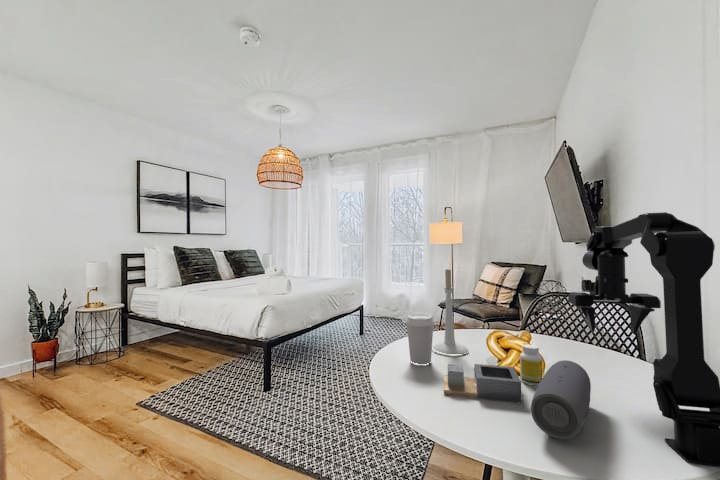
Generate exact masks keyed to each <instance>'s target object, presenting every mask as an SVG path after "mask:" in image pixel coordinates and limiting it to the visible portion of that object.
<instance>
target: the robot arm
mask: <svg viewBox="0 0 720 480" xmlns="http://www.w3.org/2000/svg"><path fill="white" fill-rule="evenodd" d="M639 238H640V241H639V243H640V245H642V247H643V248H644V249H645V251H646V252H647V253H648V254H649V259H650V263H651V266H652V267H653V269H655V271H656V272H657V273H658V274H659V275H660V276H661V277H662V284H663V285H662V286H663V307H664V325H665V328H664V329H665V348H666V349H665V350H666V351H665V352H666V353H665V355H663V357H662V358H655V359H654V360H653V362H652V364H653V366H652V367H653V371H654V372H653V378H652V379H653V382H652V383H653V385H652V386H653V390H654V394H655V397H656V402H657V406H658V410H659V411H660V412H661V415H662V416H663V417H665V418H667V419H670V420H672V421H673V435H674V438H669V437H668V438H667V437H665V438H664V442H665V443H666V444H667V445H668V446H669V447H670V448H672V449H673V450H674V451H675V453H677V454H678V455H679V456H680V457H681V458H682V459H683V460H685V461H686V462H689V463H692V464H699V465H706V466H713V467H719V466H720V380H719V376H718V375H717V374H716V372H714V370H713V369H712V368H711V366H710V365H709V364H708V363H707V361H705V360H706V359H705V346H704V342H705V341H704V328H703V327H704V325H703V305H702V304H703V303H702V286H701V285H702V284H701V280H702V279H703V277H704V276H705V275H706V274H707V273H708V271H709V270H710V269H711V267H712V266H713V263H714V255H715V254H714V253H715V246H716V245H715V242H714V240H713V238H712V237H710V236H708V234H706V233H705V232H704V231H703V230H702V229H701V228H699V226H696V225H693V224H691V223H688V222H686V221H683V220H681V219H678V218H677V217H676V216H674V214H672V213H669V212H667V211H666V212H665V211H663V212H644V213H642V214H639V215H638V216H636V217H634V218H632V219H629V220H627V221H623V222H621V223H618V224H615V225H606V226H604V225H602V226H595V228H594V229H593V231H592V232H591V234H590V236H589V239H588V241H587V243H586V253H584V254H583V256H582V264H583V266H584V267H586V268H587V269H589V270H594V271H597V275H595V281H592V279H582V280H581V291H582V292H578V291H575V292H569V294H568V295H567V297H568V298H567V300H568V301H567V302H568V303H570V304H572V305H573V306H575V307H577V308H579V309H580V310H581V313H583V315H584V318H585V320H586V323H587V326H588V327H589V330H590V332H592V333H595V330H596V329H595V328H596V308H595V307H593V304H620V305H621V304H626V305H627V304H628V307H629V311H630V324H629V325H630V333H631V334H633V335H635V334H636V333H637V332H638V330H639V328H640V326H641V325H642V323H643V322H644V320H645V319H646V318H647V317H648V315H650V313H651V312H655V309H661V308H662V303H661V299H660V298H659V297H658V296H656V295H653V294H649V293H639V292H638V293H635V292H634V293H633V292H632V293H630V295H629V294H628V293H627V290H626V289H627V288H626V287H627V286H626V283H627V284H628V283H629V278H626V258H628V257H629V254H628V252H627V251H625V250H624V249H625V248H626V247H628V246H630V245H632V244H633V240H636V239H639ZM587 292H588V293H587ZM680 407H692V408H700V410H699V409H698V410H697V409H692V408H691V409H690V408H689V409H688V408H680ZM701 409H708V410H701Z"/></svg>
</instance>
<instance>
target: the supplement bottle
mask: <svg viewBox="0 0 720 480" xmlns="http://www.w3.org/2000/svg"><path fill="white" fill-rule="evenodd" d="M539 349H540V348H539V346H537V345H535V344H527V343H525V344H523V345H522V352H521V353H520V354H519V370H520V371H519V374H520V375H519V376H520V378H519V379H520V381H521V383H524V384H526V385H528V386H538V385H539V383H540V381H541V380H542V378H543V358H542V356H541V355H540V354H539V353H540V352H539V351H540V350H539Z"/></svg>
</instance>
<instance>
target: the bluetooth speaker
mask: <svg viewBox="0 0 720 480" xmlns="http://www.w3.org/2000/svg"><path fill="white" fill-rule="evenodd" d="M591 387H592V386H591V379H590V377H589V374H588V373H587V371H586V370H585V369H584V367H582V366H581V365H580V364H578V363H577V362H574V361H571V360H559V361H556V362H555V363H554V364H552V365H551V366H550V367H549V368H548V370H546V372H545V374H543V375H542V380H541V381H540V383H539V385H537V387H536V389H535V392H534V394H533V397H532V399H531V403H530V404H531V405H530V413H531V417H532V419H533V421H534V423H535V424H536V426H537V427H538V429H540V430H541V431H542V432H544V434H546V435H548V436H551V437H553V438H557V439H559V440H569V439H570V440H571V439H573V438H575V437H576V436H577V435H578V434H579V432H580V431H581V429H582V428H583V426H584V423H585V420H586V418H587V416H588V412H589V408H590V402H591V391H592V390H591V389H592V388H591Z"/></svg>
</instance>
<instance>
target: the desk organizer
mask: <svg viewBox="0 0 720 480" xmlns="http://www.w3.org/2000/svg"><path fill="white" fill-rule="evenodd" d="M473 366H474V377H472V376H471V377H470V376H465V373H464V372H465V371H464V369H465V368H464V365H463V364H462V365H461V364H453V363H452V364H451V363H448V364H447V374H444V382H443V395H444V394H445V396H452V397H453V396H454V397H460V398H462V397H463V398H471V399H472V398H473V399H480V400H489V401H495V402H496V401H498V402H508V403H514V404H523V401H522V398H523V397H522V381H521V379H520V378H519V375H518V373H517V371H516V369H515V367H514V366H504V365H495V364H494V365H493V364H491V365H490V364H481V363H474V365H473Z"/></svg>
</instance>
